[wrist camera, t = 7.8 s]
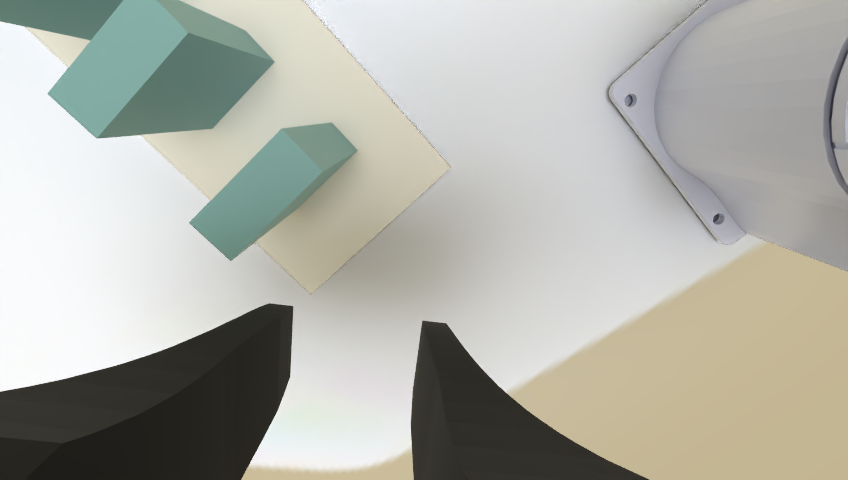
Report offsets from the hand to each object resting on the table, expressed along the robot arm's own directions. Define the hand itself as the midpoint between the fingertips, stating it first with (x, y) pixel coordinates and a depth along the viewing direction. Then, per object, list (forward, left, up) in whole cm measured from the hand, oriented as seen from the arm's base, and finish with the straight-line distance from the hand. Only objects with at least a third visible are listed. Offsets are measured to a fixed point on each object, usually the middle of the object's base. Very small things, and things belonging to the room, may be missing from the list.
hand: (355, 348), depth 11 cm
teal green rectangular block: (+5, 0, -10) cm, 11 cm away
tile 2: (+10, 0, -10) cm, 14 cm away
